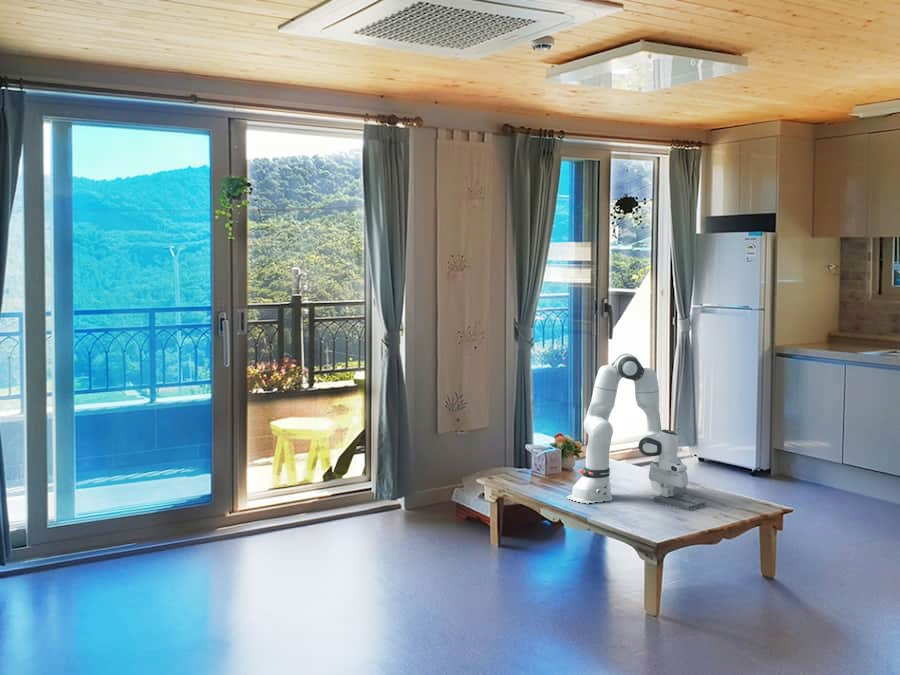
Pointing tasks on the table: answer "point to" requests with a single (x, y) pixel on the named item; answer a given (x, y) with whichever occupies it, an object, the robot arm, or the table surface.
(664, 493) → the fader knob
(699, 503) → the fader deck
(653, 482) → the alarm clock
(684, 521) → the table surface
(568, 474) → the table surface
